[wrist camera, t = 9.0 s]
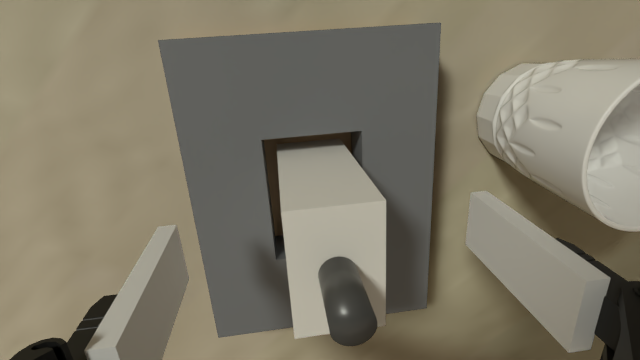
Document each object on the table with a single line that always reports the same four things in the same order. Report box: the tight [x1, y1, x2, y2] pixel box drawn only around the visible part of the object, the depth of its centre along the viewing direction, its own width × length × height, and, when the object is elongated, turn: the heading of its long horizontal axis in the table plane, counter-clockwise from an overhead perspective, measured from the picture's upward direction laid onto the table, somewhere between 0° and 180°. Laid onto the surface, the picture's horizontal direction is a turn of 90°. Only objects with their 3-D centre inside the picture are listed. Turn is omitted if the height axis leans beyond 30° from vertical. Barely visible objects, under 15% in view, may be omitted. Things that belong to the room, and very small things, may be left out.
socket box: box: [158, 23, 441, 338], centre depth 23 cm, size 18×14×4 cm
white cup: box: [477, 58, 640, 232], centre depth 21 cm, size 8×8×10 cm
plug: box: [276, 138, 386, 346], centre depth 18 cm, size 6×4×13 cm, turn 4°
